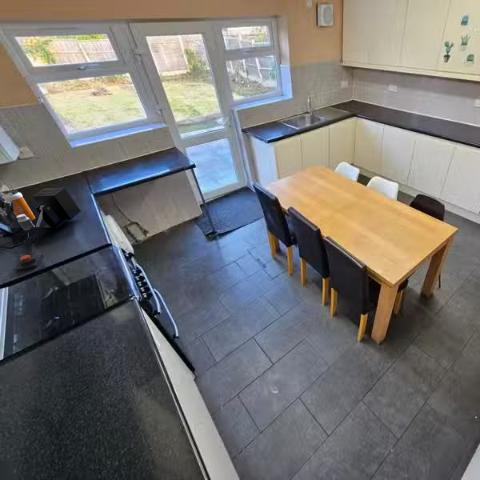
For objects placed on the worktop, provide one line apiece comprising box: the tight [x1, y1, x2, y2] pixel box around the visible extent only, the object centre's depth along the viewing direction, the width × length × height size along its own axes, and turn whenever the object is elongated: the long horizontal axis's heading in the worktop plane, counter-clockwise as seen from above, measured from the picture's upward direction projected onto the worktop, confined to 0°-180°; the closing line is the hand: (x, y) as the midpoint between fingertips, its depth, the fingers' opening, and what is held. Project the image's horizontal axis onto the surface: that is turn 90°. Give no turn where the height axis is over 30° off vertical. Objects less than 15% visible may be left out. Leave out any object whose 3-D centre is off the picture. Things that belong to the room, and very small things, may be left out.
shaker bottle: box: [0, 189, 36, 222], centre depth 171 cm, size 9×9×20 cm
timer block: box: [15, 253, 45, 272], centre depth 142 cm, size 10×8×4 cm
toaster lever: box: [30, 206, 44, 231], centre depth 163 cm, size 15×6×2 cm
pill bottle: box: [15, 214, 36, 231], centre depth 167 cm, size 5×5×9 cm
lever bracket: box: [34, 204, 68, 230], centre depth 168 cm, size 10×8×14 cm
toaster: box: [32, 187, 82, 221], centre depth 174 cm, size 10×13×18 cm
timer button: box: [19, 254, 31, 262], centre depth 141 cm, size 4×4×2 cm
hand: (13, 221), depth 139 cm, fingers closed
